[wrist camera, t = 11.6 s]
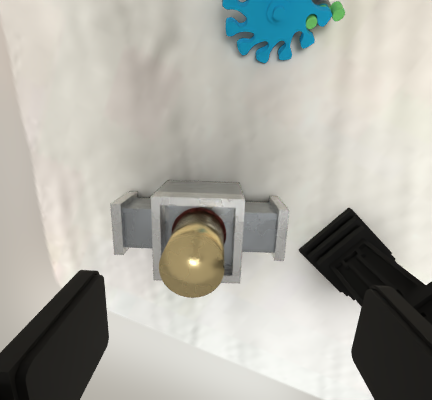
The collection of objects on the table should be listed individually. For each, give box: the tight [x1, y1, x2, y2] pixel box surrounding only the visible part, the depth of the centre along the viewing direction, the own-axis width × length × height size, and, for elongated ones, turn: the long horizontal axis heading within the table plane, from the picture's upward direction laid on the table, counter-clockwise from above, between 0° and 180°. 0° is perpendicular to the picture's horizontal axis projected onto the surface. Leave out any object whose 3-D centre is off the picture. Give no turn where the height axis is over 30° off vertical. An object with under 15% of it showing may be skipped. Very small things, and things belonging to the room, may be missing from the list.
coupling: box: [159, 211, 224, 298], centre depth 24 cm, size 5×5×7 cm
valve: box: [111, 180, 289, 283], centre depth 29 cm, size 9×18×8 cm, turn 88°
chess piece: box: [299, 208, 432, 325], centre depth 24 cm, size 8×8×20 cm
